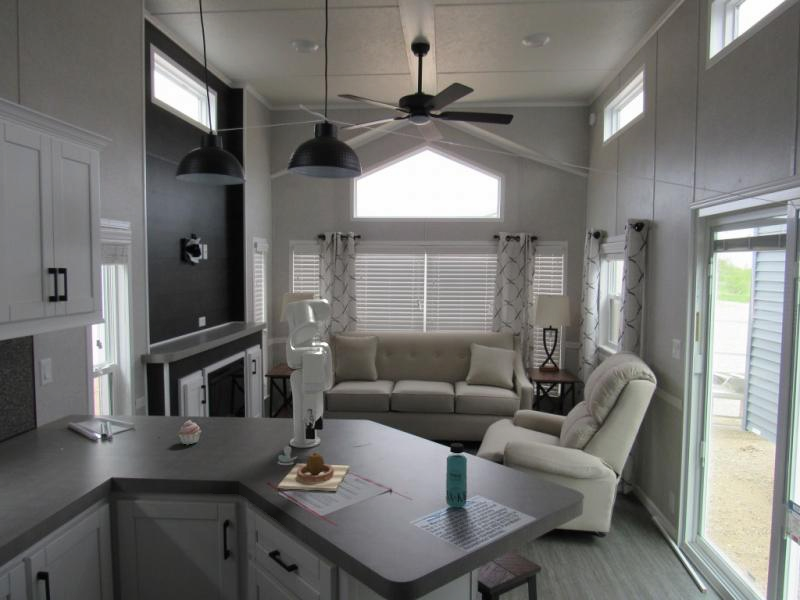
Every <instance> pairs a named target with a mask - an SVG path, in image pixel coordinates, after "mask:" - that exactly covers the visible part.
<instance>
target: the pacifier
mask: <svg viewBox="0 0 800 600" xmlns="http://www.w3.org/2000/svg"><path fill="white" fill-rule="evenodd" d="M283 452H284V455H283V454H281V455H280V454H279V455H278V461H277V464H278V465H281V466H292V465H294V463H295V462H294V460H296V459H297V458H298V456H297V455H296V456H293V457H291V454H292V447H291V445H287V446H285V447H284V449H283Z"/></svg>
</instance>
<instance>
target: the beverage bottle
mask: <svg viewBox="0 0 800 600" xmlns="http://www.w3.org/2000/svg"><path fill="white" fill-rule="evenodd" d="M464 450H465V449H464V444H462V443H459V442H455V443H454V442H453V443H451V444H450V449H449V451H450V454H449V455H448V456H447V457H446V473H445V474H446V475H445V476H446V478H445V479H446V480H445V492H446V494H445V495H446V496H445V502H446V504H447V505H448V506H449V507H452V508H462V507H464V506H465V505H467V498H468V495H467V494H468V488H467V487H468V483H467V480H468V479H467V478H468V476H467V472H468V470H467V468H468V467H467V466H468V465H467V463H468V462H467V461H468V458H467V457H466V456H465V455H464V454H463V453H464Z"/></svg>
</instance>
